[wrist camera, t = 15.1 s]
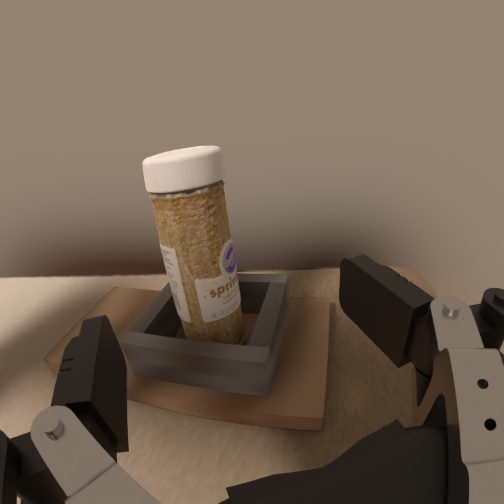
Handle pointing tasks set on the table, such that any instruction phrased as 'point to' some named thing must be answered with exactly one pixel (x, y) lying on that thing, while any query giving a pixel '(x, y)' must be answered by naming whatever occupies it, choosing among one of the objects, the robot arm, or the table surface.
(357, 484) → the robot arm
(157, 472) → the table surface
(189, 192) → the sprinkles bottle
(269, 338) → the board
